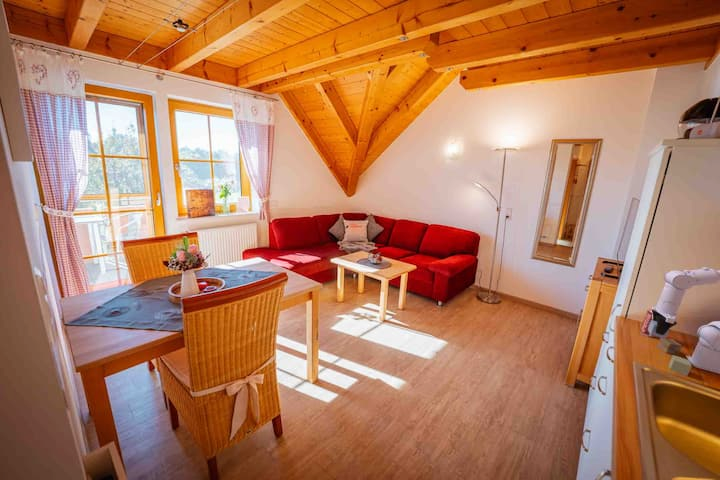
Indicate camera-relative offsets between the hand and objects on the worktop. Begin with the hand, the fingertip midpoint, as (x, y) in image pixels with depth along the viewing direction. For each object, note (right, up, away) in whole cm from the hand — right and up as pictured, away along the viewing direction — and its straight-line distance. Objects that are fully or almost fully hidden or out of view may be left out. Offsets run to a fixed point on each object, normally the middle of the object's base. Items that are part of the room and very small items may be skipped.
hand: (657, 331), depth 117 cm
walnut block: (+10, -10, +5) cm, 15 cm away
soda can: (+13, -7, +17) cm, 22 cm away
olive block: (+1, -13, -7) cm, 14 cm away
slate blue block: (0, -1, 0) cm, 1 cm away
